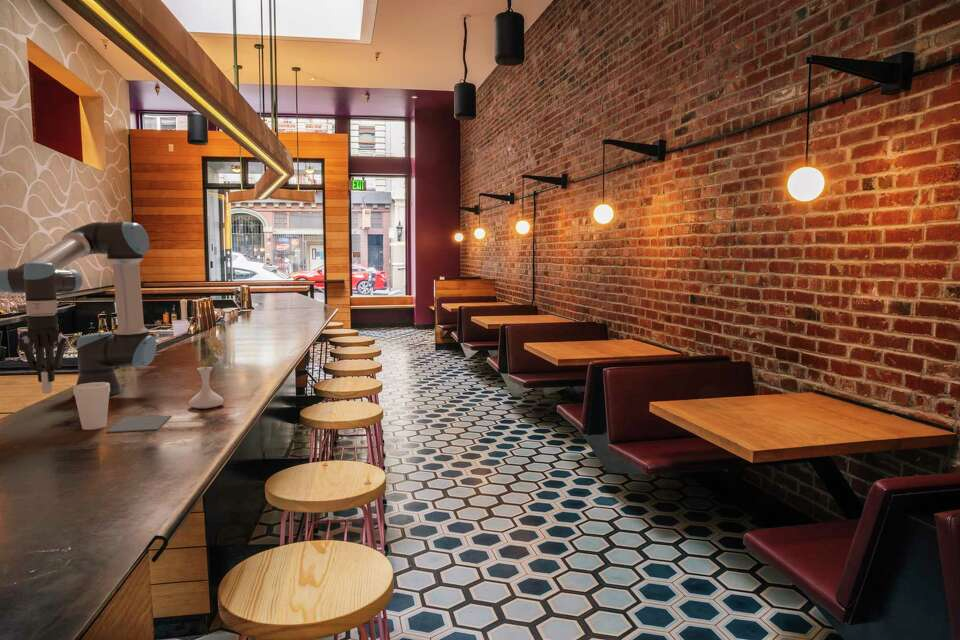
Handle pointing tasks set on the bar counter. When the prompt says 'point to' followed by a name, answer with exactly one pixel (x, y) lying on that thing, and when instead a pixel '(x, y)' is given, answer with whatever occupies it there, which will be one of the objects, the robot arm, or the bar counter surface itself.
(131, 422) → the mat
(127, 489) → the bar counter surface
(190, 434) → the bar counter surface
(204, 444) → the bar counter surface
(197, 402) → the flower in vase
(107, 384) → the foam cup
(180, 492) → the bar counter surface
